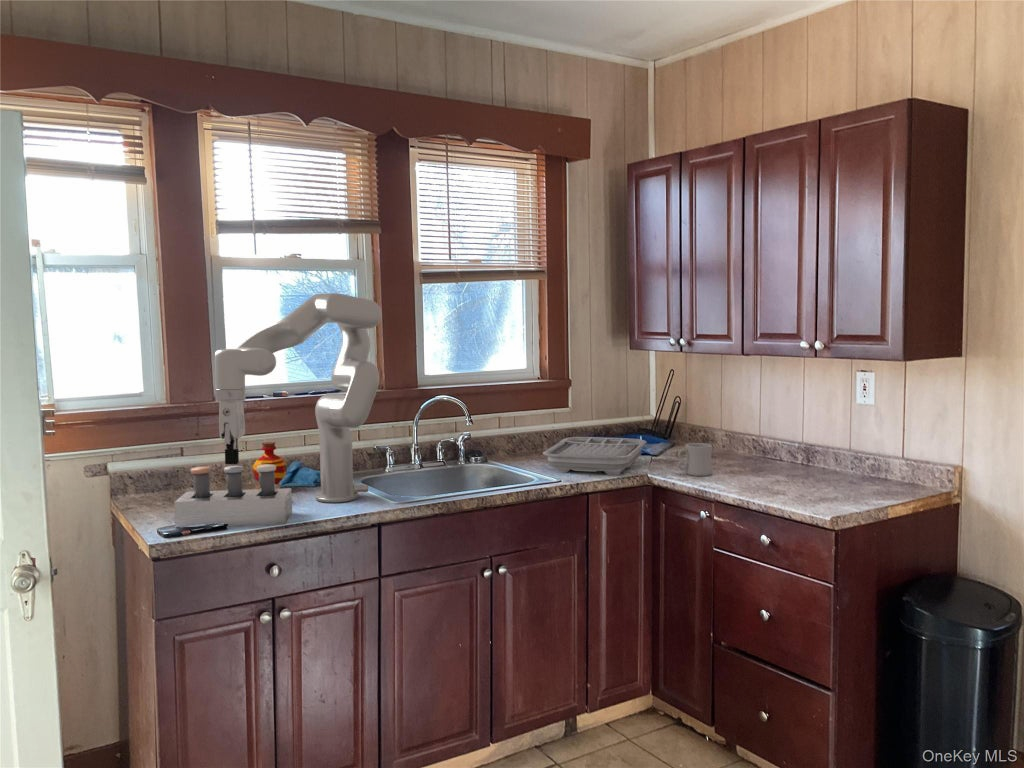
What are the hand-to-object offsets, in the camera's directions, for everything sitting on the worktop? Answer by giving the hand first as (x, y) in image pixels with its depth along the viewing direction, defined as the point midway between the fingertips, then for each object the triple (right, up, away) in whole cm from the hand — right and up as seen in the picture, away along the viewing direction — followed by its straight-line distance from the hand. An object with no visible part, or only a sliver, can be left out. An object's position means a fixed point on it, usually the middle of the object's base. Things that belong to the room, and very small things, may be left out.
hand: (232, 463), depth 219 cm
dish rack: (+105, -9, +73) cm, 128 cm away
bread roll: (+3, -14, +21) cm, 25 cm away
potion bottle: (-1, -12, +39) cm, 41 cm away
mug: (+137, -9, +58) cm, 149 cm away
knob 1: (-8, -9, 0) cm, 12 cm away
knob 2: (+9, -9, +2) cm, 13 cm away
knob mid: (0, -9, +1) cm, 9 cm away
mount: (0, -16, +2) cm, 16 cm away
